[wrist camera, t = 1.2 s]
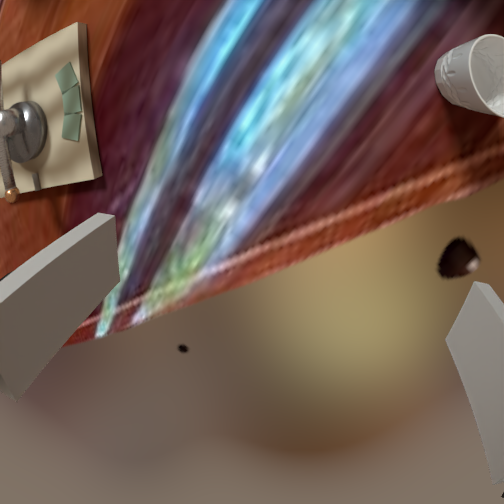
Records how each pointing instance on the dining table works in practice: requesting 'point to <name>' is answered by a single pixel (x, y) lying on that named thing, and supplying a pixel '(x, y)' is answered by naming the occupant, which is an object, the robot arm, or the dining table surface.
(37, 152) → the lever
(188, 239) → the dining table surface
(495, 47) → the white cup
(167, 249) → the dining table surface
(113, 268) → the robot arm
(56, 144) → the stand
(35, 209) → the dining table surface
